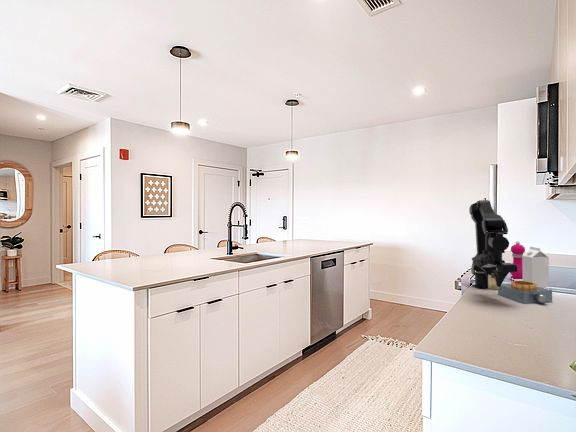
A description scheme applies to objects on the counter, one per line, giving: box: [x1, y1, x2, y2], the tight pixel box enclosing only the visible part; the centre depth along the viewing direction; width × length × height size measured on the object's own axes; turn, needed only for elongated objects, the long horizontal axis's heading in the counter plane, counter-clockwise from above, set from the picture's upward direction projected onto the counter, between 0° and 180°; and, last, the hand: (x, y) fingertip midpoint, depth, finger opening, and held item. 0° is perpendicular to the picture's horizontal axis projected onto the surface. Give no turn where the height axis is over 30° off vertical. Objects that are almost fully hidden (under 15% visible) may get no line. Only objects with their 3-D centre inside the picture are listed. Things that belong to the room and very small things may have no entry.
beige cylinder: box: [487, 272, 501, 291], centre depth 135 cm, size 4×4×7 cm
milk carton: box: [522, 246, 550, 288], centre depth 150 cm, size 7×7×19 cm
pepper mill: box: [509, 240, 526, 279], centre depth 166 cm, size 7×7×20 cm
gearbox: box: [497, 280, 553, 305], centre depth 135 cm, size 17×12×6 cm
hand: (494, 285), depth 135 cm, fingers closed on beige cylinder, 4 cm apart
